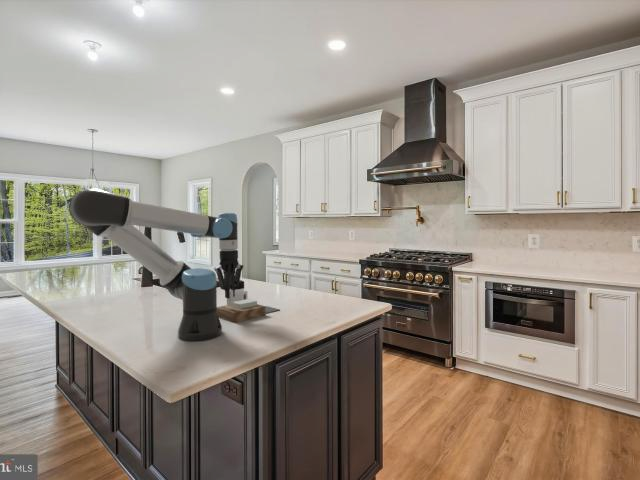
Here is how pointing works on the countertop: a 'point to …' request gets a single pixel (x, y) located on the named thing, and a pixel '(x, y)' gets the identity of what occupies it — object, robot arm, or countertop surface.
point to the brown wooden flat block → (240, 313)
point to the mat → (270, 309)
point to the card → (244, 303)
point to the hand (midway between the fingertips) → (230, 305)
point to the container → (240, 292)
